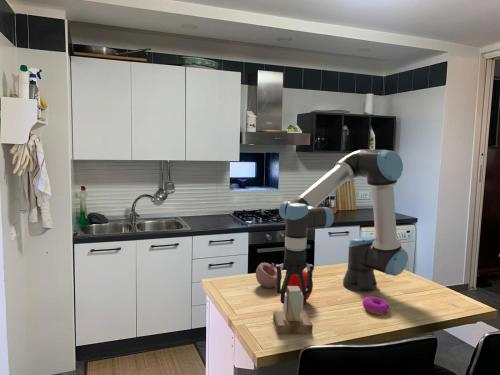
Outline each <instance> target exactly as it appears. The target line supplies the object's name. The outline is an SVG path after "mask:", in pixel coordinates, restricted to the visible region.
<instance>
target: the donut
mask: <svg viewBox="0 0 500 375" xmlns="http://www.w3.org/2000/svg"><path fill="white" fill-rule="evenodd" d="M362 306H363V308H364V309H365V310H366V311H367V312H368V313H371V314H373V315H376V316H381V315H383V314H384V313H387V312H388V311H389V310H390V304H389V303H388V302H387V301H386V300H384V299H383V298H381V297H378V296H377V297H376V296H372V295H371V296H366V297H364V298H363V299H362Z"/></svg>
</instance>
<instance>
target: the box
mask: <svg viewBox="0 0 500 375" xmlns="http://www.w3.org/2000/svg"><path fill="white" fill-rule="evenodd" d="M300 307H301V290H300V288H299V286H287V310H286V317H287V320H288V321H300Z"/></svg>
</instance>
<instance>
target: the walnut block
mask: <svg viewBox="0 0 500 375" xmlns="http://www.w3.org/2000/svg"><path fill="white" fill-rule="evenodd" d="M272 316H273V317H272V319H273V320H272V321H273V323H274V326H275V330H276V334H277V335H278V336H279V335H280V336H281V335H282V336H284V335H287V336H290V335H313V327H314V325H313V323H312V321H311V319H310V317H309V315H308V313H307V311H306V310H303V313H300V321H288V320H287V317H286V313H284V311H283V310H279V311H278V310H276V311H275V310H274V311H273V315H272Z"/></svg>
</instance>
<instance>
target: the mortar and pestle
mask: <svg viewBox="0 0 500 375" xmlns="http://www.w3.org/2000/svg"><path fill="white" fill-rule="evenodd" d="M276 276H277V270H276V266H275V263H273V262H272V263H271V264H270V263H268V262H261V263H260V264H259V265H258V266H257V268H256V270H255V278H256V280H257V282H258V284H259V285H261V286H262V287H264V288H266V289H267V288H269V289H270V288H276ZM282 279H283V274H282V273H281V280H282Z"/></svg>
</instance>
